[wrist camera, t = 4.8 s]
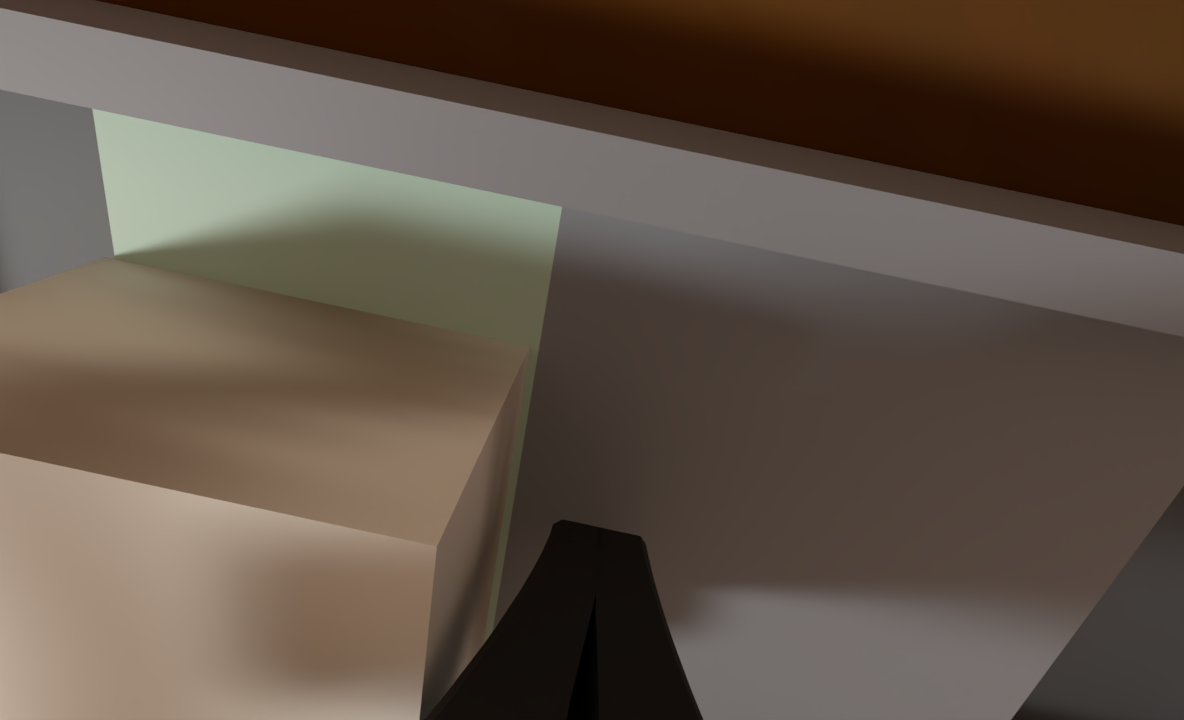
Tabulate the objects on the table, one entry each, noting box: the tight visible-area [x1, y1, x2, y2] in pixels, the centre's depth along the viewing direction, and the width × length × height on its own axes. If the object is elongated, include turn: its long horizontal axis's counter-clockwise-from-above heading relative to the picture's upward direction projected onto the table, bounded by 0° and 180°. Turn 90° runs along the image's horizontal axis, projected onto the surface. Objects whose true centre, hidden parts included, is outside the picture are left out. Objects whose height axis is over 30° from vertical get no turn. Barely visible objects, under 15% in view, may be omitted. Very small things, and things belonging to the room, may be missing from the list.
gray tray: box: [0, 0, 1184, 720], centre depth 11 cm, size 30×12×4 cm, turn 79°
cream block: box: [0, 257, 530, 720], centre depth 8 cm, size 6×6×4 cm
